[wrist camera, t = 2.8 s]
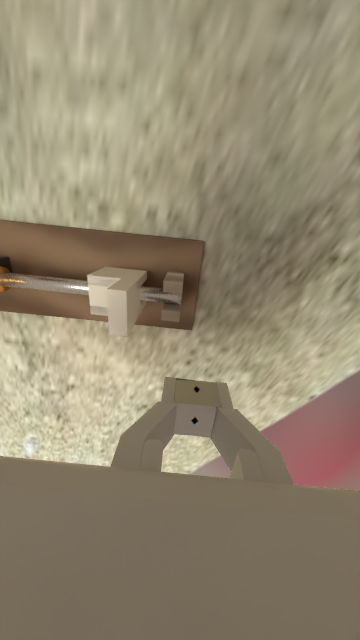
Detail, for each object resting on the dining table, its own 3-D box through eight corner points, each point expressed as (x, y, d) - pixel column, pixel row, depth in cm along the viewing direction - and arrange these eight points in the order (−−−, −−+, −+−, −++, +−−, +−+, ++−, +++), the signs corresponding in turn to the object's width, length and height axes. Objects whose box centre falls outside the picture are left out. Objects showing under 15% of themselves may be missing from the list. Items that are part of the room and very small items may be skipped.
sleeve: (105, 266, 25) (64, 284, 16) (147, 270, 25) (126, 291, 16) (107, 299, 26) (71, 331, 18) (146, 303, 26) (127, 336, 18)
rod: (-23, 253, 26) (-77, 259, 21) (183, 274, 26) (182, 285, 21) (-14, 281, 27) (-63, 293, 22) (181, 301, 28) (179, 317, 22)
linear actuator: (-33, 216, 26) (-114, 211, 19) (203, 240, 26) (208, 244, 19) (-7, 305, 30) (-64, 327, 24) (191, 325, 31) (193, 353, 24)
